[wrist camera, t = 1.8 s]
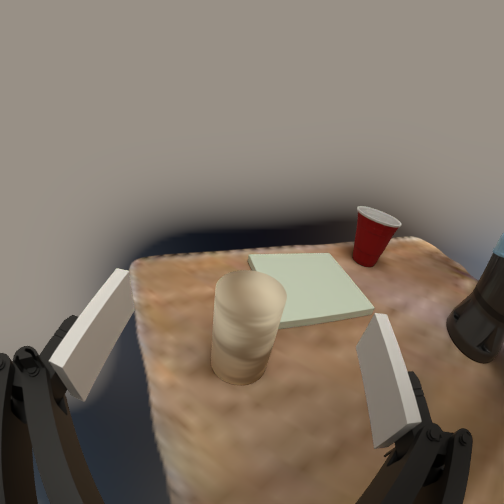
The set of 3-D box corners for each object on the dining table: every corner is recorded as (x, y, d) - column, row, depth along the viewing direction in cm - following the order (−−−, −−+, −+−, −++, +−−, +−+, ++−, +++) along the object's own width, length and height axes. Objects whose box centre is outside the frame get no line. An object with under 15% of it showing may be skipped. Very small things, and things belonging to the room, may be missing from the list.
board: (327, 258, 58) (328, 252, 58) (371, 314, 44) (374, 308, 43) (247, 261, 53) (248, 254, 53) (277, 329, 39) (279, 322, 38)
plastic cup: (386, 259, 62) (403, 216, 56) (380, 279, 54) (401, 230, 48) (348, 243, 67) (362, 200, 61) (337, 260, 59) (352, 210, 53)
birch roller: (257, 339, 36) (273, 269, 30) (272, 380, 31) (297, 312, 25) (207, 344, 34) (211, 271, 28) (216, 388, 29) (222, 319, 23)
